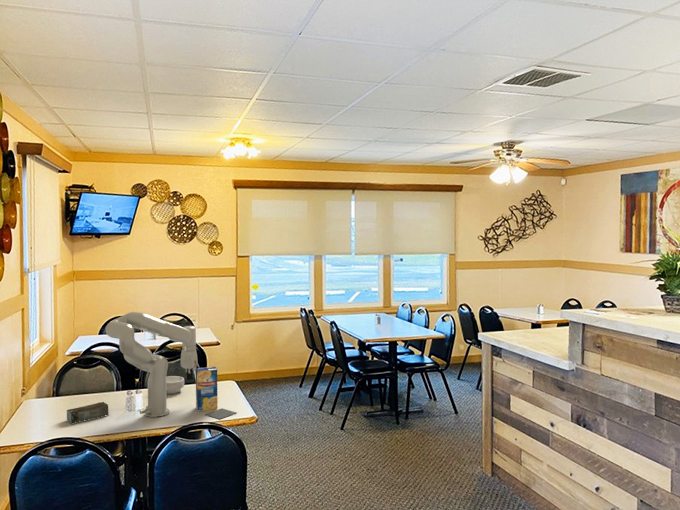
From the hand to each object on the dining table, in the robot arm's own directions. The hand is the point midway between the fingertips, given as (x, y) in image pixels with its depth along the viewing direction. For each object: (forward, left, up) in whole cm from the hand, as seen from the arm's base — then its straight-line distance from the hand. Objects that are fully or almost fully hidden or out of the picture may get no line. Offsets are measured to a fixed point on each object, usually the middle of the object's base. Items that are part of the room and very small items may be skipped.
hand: (189, 379), depth 308 cm
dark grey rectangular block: (-48, +22, -14) cm, 55 cm away
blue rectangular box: (0, -15, -14) cm, 20 cm away
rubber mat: (-2, -29, -14) cm, 32 cm away
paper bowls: (+7, +27, -14) cm, 31 cm away
